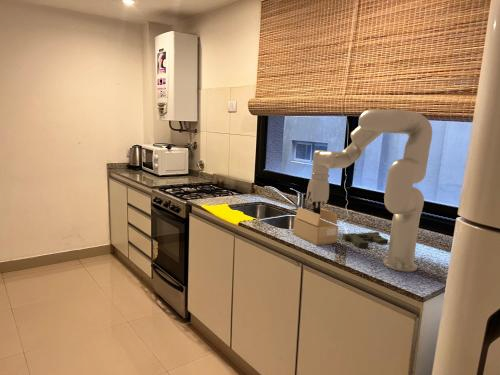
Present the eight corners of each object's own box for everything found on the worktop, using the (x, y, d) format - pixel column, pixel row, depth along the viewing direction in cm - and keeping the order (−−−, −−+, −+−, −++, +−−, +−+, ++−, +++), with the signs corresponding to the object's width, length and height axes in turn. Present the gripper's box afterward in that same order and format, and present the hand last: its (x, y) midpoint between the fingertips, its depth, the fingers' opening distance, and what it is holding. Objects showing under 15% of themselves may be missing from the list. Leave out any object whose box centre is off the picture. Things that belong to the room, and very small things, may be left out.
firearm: (398, 239, 174) (375, 229, 187) (360, 242, 164) (338, 232, 177) (397, 245, 175) (374, 235, 188) (359, 249, 164) (337, 239, 177)
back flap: (336, 224, 169) (337, 224, 170) (335, 213, 168) (336, 213, 168) (314, 216, 184) (314, 215, 184) (313, 206, 182) (314, 205, 182)
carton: (337, 243, 170) (339, 225, 168) (317, 245, 164) (318, 227, 163) (311, 231, 186) (313, 215, 185) (292, 233, 181) (293, 217, 179)
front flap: (320, 214, 164) (319, 214, 164) (317, 226, 164) (317, 226, 164) (299, 207, 178) (298, 206, 178) (296, 217, 178) (295, 217, 178)
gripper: (327, 175, 177) (323, 212, 180) (301, 176, 170) (298, 214, 173) (337, 178, 171) (333, 216, 174) (312, 178, 164) (308, 218, 167)
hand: (316, 215), depth 174 cm, fingers closed
